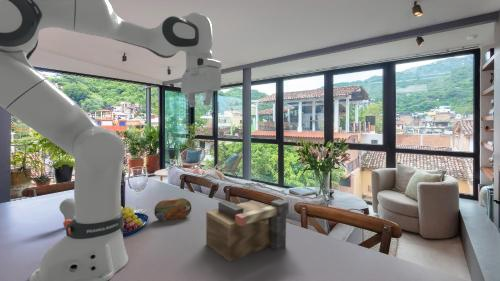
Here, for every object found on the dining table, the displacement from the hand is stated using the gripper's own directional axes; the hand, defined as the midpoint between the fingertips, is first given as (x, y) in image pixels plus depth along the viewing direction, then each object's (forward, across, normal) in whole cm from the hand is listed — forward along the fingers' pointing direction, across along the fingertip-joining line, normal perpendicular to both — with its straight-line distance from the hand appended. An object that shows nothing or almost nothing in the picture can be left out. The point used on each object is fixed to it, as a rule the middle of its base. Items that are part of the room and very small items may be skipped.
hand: (199, 106), depth 86 cm
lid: (+38, +15, +9) cm, 41 cm away
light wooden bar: (+35, +22, +7) cm, 42 cm away
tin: (+47, -23, +1) cm, 52 cm away
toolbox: (+46, +16, +9) cm, 50 cm away
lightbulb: (+47, -42, -32) cm, 71 cm away
